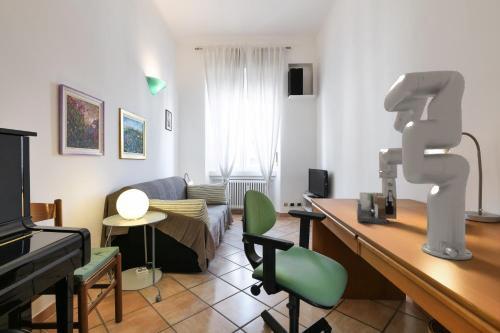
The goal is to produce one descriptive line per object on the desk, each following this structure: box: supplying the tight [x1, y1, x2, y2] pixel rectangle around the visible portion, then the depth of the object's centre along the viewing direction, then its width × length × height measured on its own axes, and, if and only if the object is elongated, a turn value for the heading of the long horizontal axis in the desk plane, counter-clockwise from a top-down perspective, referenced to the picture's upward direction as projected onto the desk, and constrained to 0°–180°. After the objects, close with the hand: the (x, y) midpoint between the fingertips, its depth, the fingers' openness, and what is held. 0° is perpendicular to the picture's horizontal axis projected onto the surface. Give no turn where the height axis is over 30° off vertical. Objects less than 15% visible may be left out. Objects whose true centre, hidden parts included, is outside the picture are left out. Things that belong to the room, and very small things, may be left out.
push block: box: [376, 196, 397, 220], centre depth 118 cm, size 4×8×10 cm, turn 69°
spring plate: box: [370, 203, 378, 218], centre depth 120 cm, size 8×3×6 cm, turn 159°
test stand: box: [356, 191, 387, 225], centre depth 120 cm, size 12×12×13 cm
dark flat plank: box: [371, 196, 374, 217], centre depth 123 cm, size 2×1×10 cm, turn 159°
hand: (388, 212), depth 117 cm, fingers closed on push block, 4 cm apart
